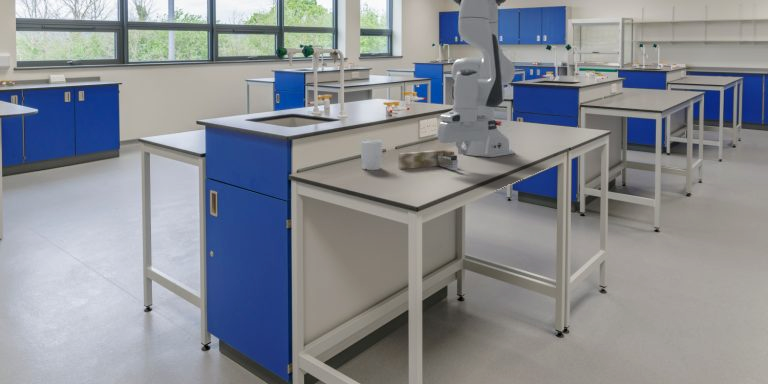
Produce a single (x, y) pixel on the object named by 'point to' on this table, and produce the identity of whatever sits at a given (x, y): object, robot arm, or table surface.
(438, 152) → the wooden l-bracket
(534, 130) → the table surface
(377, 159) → the white cup
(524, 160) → the table surface
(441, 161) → the crank handle
